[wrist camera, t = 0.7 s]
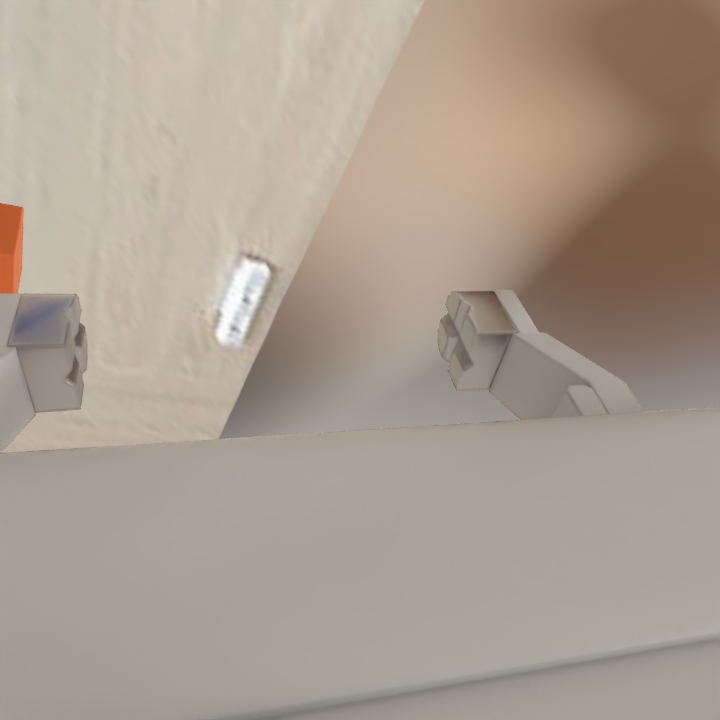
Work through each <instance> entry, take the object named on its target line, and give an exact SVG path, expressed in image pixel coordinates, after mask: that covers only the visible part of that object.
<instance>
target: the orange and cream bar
mask: <svg viewBox="0 0 720 720" xmlns="http://www.w3.org/2000/svg"><path fill="white" fill-rule="evenodd" d="M22 244H23V207H19V206H13V205H7V204H1V203H0V294H18V288H19V282H20V276H21V270H22Z"/></svg>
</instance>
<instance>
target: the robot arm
mask: <svg viewBox="0 0 720 720" xmlns="http://www.w3.org/2000/svg"><path fill="white" fill-rule="evenodd" d="M445 306H446V308H447V310H448V312H449V313H448V314H447V315H445V316H444V317H443V318H442V319H441V320H440V324H439V328H438V347H439V351H440V353H441V356H442V358H444V359H445V360H446V361H448V362H449V363H450V365H449V369H448V373H449V375H450V377H451V380H452V382H453V384H454V386H455V389H456V390H457V391H464V390H489V392H490V393H491V394H492V395H493V396H495V397H496V398H497V399H498V400H499V401H500V402H501V403H503V404H504V405H505V406H506V407H507V408H508V409H509V410H510V411H511V412H513V413H514V414H515V415H516V416H517V417H518V418H519V419H520V420H511V421H496V422H480V423H465V424H450V425H433V426H418V427H404V428H403V427H402V428H386V429H370V430H355V431H341V432H325V433H309V434H293V435H278V436H262V437H246V438H231V439H215V440H199V441H183V442H168V443H152V444H136V445H121V446H105V447H89V448H73V449H58V450H42V451H26V452H11V453H1V452H2V451H3V450H4V449H5V448H6V447H7V446H8V445H9V444H10V442H11V441H12V440H13V439H14V438H15V437H16V436H17V435H18V434H19V433H20V432H21V430H22V429H23V428H24V427H25V426H26V425H27V424H28V423H29V422H30V421H31V420H32V419H33V417H34V416H35V415H36V414H35V413H39V412H52V411H66V410H79V409H81V402H82V396H83V389H84V384H83V379H82V373H84V372H85V371H86V367H87V337H86V331H85V326H83V325H82V324H81V323H80V316H81V306H80V301H79V297H78V296H77V294H27V293H24V294H0V720H720V407H713V408H698V409H682V410H667V411H652V412H645V411H644V410H643V408H642V407H641V405H640V404H639V402H638V401H637V399H636V398H635V397H634V395H633V394H632V392H631V391H630V389H629V388H628V386H627V385H626V383H625V382H624V381H622V380H621V379H619V378H617V377H616V376H614V375H612V374H611V373H609V372H608V371H606V370H604V369H603V368H601V367H599V366H598V365H596V364H595V363H593V362H591V361H590V360H588V359H587V358H585V357H583V356H582V355H580V354H578V353H577V352H575V351H574V350H572V349H570V348H568V347H567V346H565V345H564V344H562V343H561V342H559V341H557V340H556V339H554V338H552V337H551V336H549V335H548V334H546V333H539V332H538V330H537V329H536V327H535V325H534V324H533V322H532V320H531V319H530V317H529V316H528V314H527V312H526V311H525V309H524V307H523V306H522V304H521V303H520V301H519V299H518V297H517V296H516V294H515V293H514V292H513V291H511V290H491V291H452V292H451V293H450V294H449V296H448V298H447V301H446V304H445Z"/></svg>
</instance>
